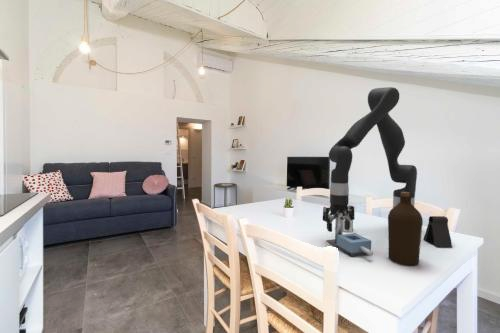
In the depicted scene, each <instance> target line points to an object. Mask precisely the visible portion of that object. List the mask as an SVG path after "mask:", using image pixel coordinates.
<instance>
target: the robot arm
mask: <svg viewBox="0 0 500 333" xmlns="http://www.w3.org/2000/svg"><path fill="white" fill-rule="evenodd" d="M399 101H400V92H399V90H398V88H396V87H389V86H388V87H375V88H373V89H371V90H370V91H369V92H368V95H367V103H368V104H367V105H368V107H369V109H370V112H369V113H367V114H366V115H364V116H363V117H361V118H359V119H358V120H357V121H356V122H355V123H353V125H351V127H350V128H349V129H348V130H347V132H346V133H345V135H344V136H343V137H342V138H340V139H339V140H338V141H337V142H336V143H334V145H333V146H332V147H331V148H330V150H329V152H328V158H329V160H330V161H331V162H332V163H335V168H333V169H331V171H330V172H331V173H330V186H329V203H330V206H329V207H326V206H323V209H322V221H324V222H325V223H326V230H327V231H328V232H329V233H332V232H333V221H335V218H336V217H337V216H338V214H339V213H343V217H344V219H345V220H346V221H345V229H346V230H349V229H350V221H351V220H353V221H354V220H355V206H353V205H350V204H349V196H350V194H349V192H350V187H349V174H350V171H351V170H350V169H351V166H352V163H353V152H352V150H353V149H354V148H356V147H358V146H359V145H360V143H362V141H363V140H364V139H365V137H366V136H367V135H368V133H369V132H371V130H373V128H374V127H375V126H377V130H378V133H379V136H380V141H381V145H382V146H383V149H384V154H385V157H386V161H387V165H388V172H389V176H390V178H391V181H392V182H394V183H400V184H405V186H404V187H402V188H398V189H395V190H394V191H393V193H392V194H393V197H392V208H394V207H395V206H396V205H397V204H399V203H400V196H401V192H410V193H411V204H412V205H413V206H414V207H415V203H416V202H415V200H416V199H415V198H416V190H417V189H416V188H417V187H416V186H417V180H418V179H417V178H418V168H417V167H416V166H415V165H413V164H400V163H399V162H398V158H399V156H400V155H401V153H402V151H403V149H404V148H405V145H406V140H405V136H404V132H403V129H402V128H401V126H400V125H399V124H398V123H397V122H396V121H395V120H394V119H393V118H392V117H391V115H390V114H389V113H390V112H391V111H392V110H393V109H395V107H396V106H397V105H398V102H399ZM347 210H348V214H347Z"/></svg>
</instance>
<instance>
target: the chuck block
mask: <svg viewBox="0 0 500 333" xmlns="http://www.w3.org/2000/svg"><path fill="white" fill-rule="evenodd" d="M337 248H338V249H337ZM337 248H336V249H337V250H338V251H340V252H342V253H344V254H345V255H347V256H348V257H350V258H355V257H362V256H373V254H374V251H373V250H372V240H371V239H369V238H367V237H364V236H363V235H361V234H358V233H356V232H355V233H353V232H351V233H345V234H344V233H342V235H337Z"/></svg>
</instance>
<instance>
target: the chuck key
mask: <svg viewBox="0 0 500 333" xmlns="http://www.w3.org/2000/svg"><path fill="white" fill-rule="evenodd" d="M343 220H344V217H343V213H339V214H338V216H337V217H336V218H335V219H334V221H335V223H334V239H335V243H337V235H343V234H344V233H343V232H344V231H343Z"/></svg>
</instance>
